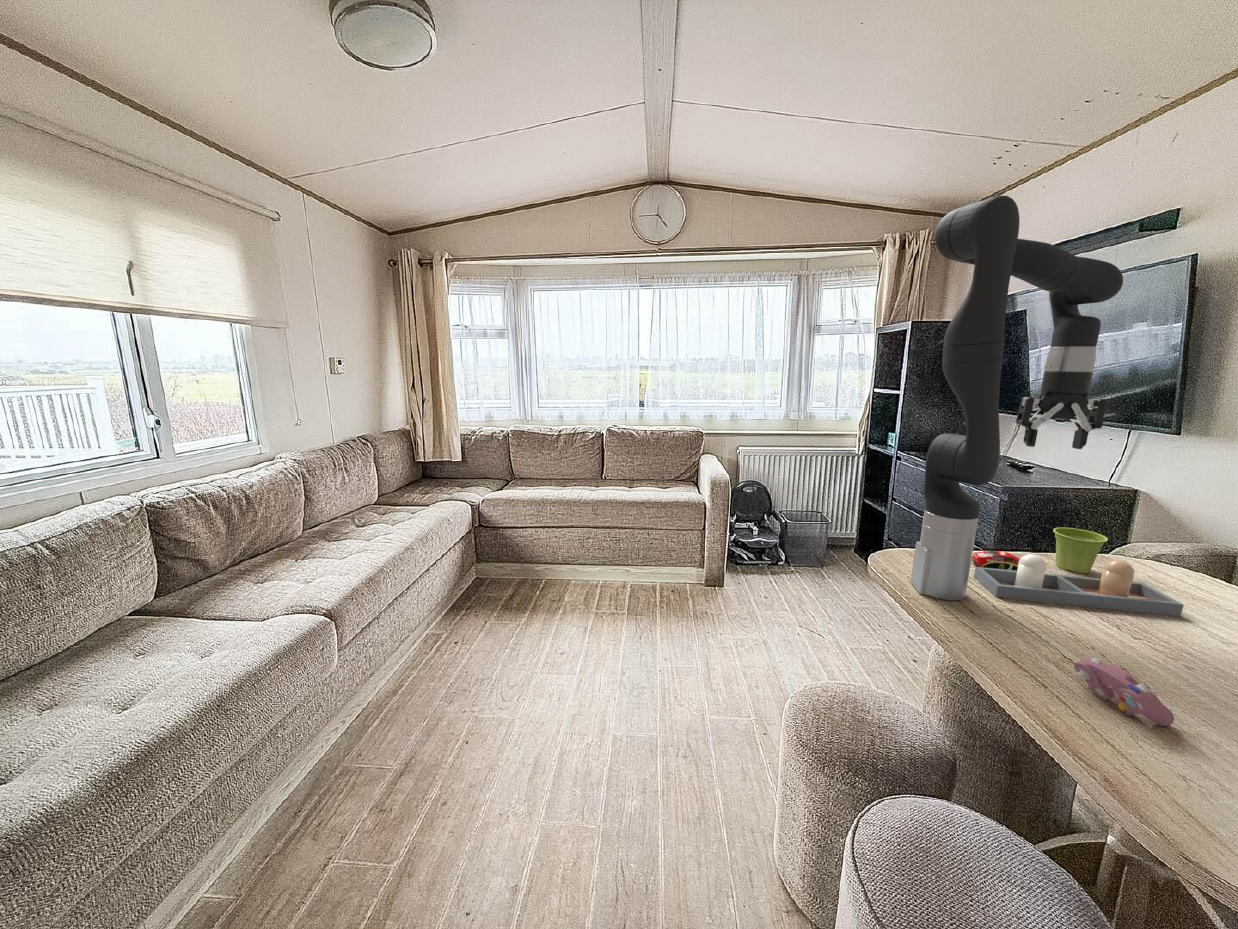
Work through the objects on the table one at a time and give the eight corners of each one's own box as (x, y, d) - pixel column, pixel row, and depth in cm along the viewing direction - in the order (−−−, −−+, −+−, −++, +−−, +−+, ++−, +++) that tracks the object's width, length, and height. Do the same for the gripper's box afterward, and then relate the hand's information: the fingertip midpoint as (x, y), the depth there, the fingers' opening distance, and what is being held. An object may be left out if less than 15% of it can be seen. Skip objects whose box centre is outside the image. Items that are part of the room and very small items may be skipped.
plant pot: (1111, 577, 112) (1120, 541, 110) (1070, 576, 112) (1077, 540, 110) (1074, 561, 121) (1081, 527, 119) (1036, 560, 121) (1042, 527, 119)
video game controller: (1074, 692, 74) (1063, 656, 72) (1101, 678, 74) (1091, 642, 72) (1150, 741, 64) (1139, 700, 63) (1181, 726, 64) (1171, 685, 63)
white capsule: (1020, 594, 102) (1027, 557, 101) (1009, 585, 107) (1016, 550, 105) (1045, 597, 101) (1052, 560, 100) (1033, 588, 106) (1040, 552, 104)
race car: (1034, 570, 116) (1038, 554, 115) (1044, 579, 111) (1047, 562, 110) (968, 561, 121) (971, 545, 120) (975, 569, 116) (978, 553, 115)
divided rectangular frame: (995, 597, 101) (997, 585, 101) (973, 577, 111) (975, 566, 110) (1180, 616, 94) (1183, 604, 93) (1140, 593, 103) (1142, 582, 103)
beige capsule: (1106, 601, 99) (1115, 563, 97) (1091, 592, 103) (1100, 555, 101) (1133, 604, 98) (1142, 566, 96) (1117, 594, 102) (1125, 558, 100)
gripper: (1038, 369, 99) (1024, 448, 102) (1123, 370, 95) (1106, 452, 99) (1018, 369, 106) (1005, 443, 109) (1097, 370, 103) (1081, 446, 106)
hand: (1053, 447), depth 104 cm, fingers open, 8 cm apart
